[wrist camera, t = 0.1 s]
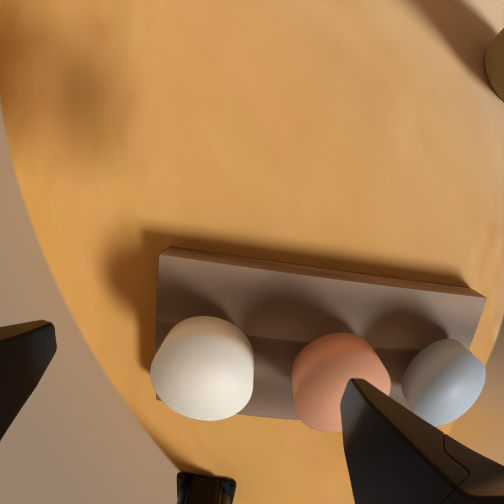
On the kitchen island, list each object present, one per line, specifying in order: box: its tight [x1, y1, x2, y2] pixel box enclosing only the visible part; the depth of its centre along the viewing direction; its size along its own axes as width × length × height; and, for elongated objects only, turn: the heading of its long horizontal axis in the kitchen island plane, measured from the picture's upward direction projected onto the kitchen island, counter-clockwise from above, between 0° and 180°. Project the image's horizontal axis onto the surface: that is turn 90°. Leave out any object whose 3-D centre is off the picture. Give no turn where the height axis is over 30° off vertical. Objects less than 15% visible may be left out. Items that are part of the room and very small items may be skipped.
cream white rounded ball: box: [150, 316, 254, 421], centre depth 20 cm, size 6×6×6 cm
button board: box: [156, 247, 486, 420], centre depth 23 cm, size 12×25×2 cm, turn 82°
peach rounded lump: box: [291, 333, 391, 432], centre depth 20 cm, size 6×6×6 cm
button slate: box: [402, 339, 486, 427], centre depth 20 cm, size 6×6×6 cm
